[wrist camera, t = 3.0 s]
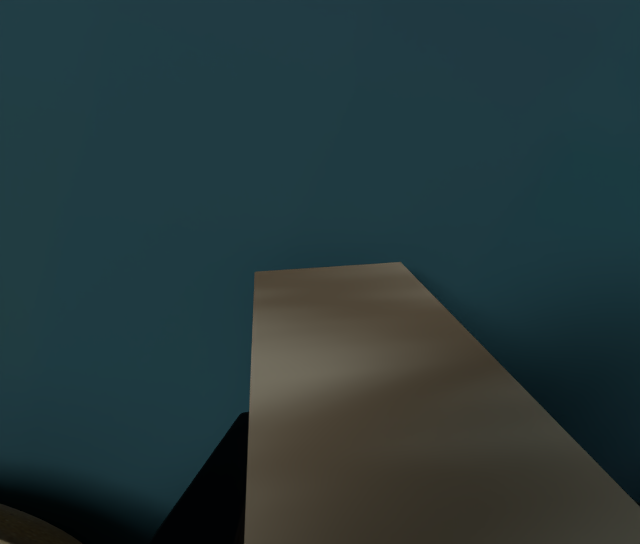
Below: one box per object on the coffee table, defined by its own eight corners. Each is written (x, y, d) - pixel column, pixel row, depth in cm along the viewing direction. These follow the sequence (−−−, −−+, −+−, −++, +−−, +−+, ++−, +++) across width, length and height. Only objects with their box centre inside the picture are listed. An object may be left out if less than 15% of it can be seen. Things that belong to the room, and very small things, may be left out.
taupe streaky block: (400, 262, 9) (1058, 935, 2) (393, 455, 11) (698, 1228, 3) (254, 271, 9) (219, 1179, 1) (270, 469, 10) (296, 1369, 3)
